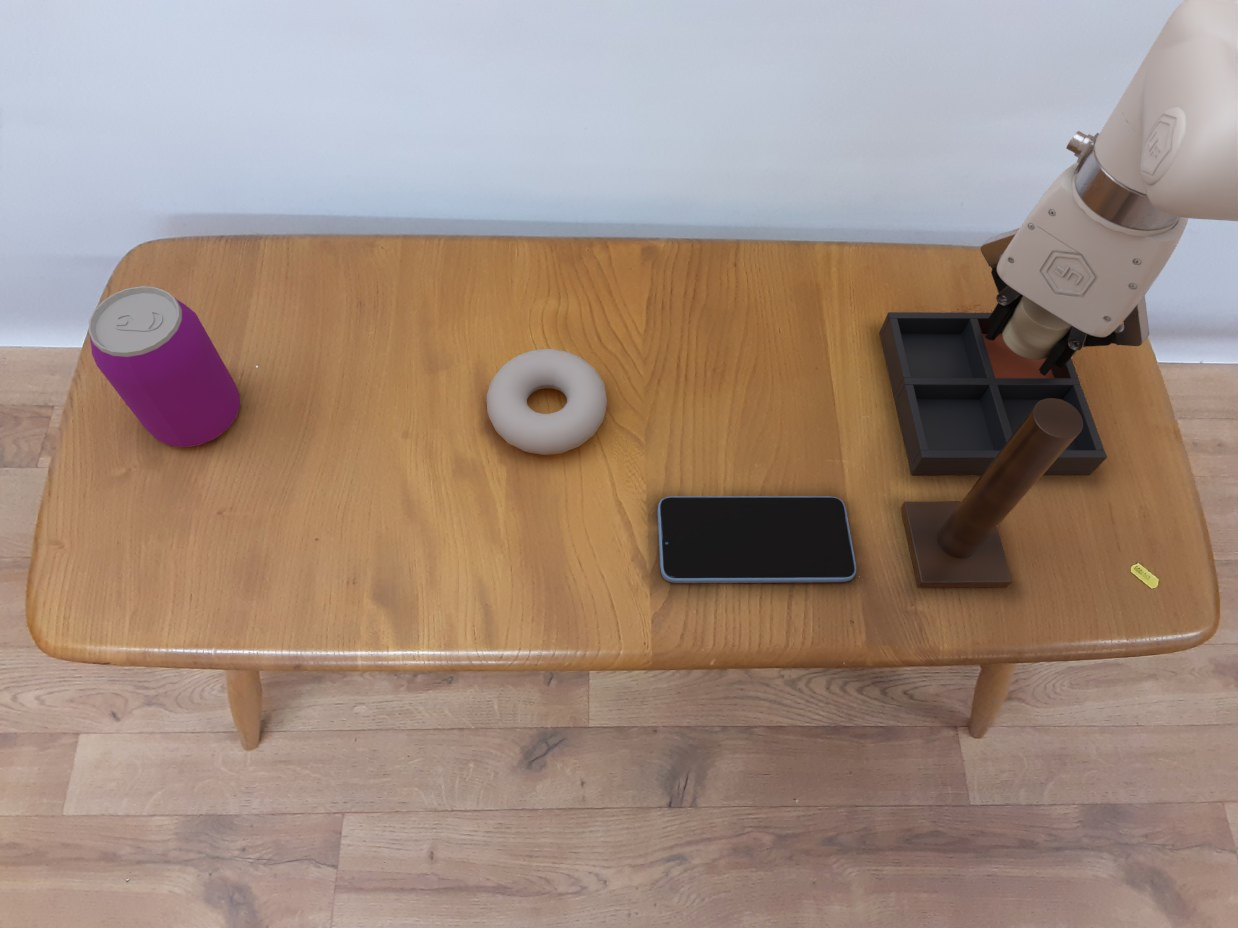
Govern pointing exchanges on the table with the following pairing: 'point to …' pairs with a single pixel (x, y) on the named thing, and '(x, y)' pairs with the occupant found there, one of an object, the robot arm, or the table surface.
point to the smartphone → (754, 539)
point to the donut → (552, 428)
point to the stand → (987, 505)
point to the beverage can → (163, 366)
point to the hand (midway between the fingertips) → (1023, 346)
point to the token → (1033, 330)
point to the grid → (973, 394)
